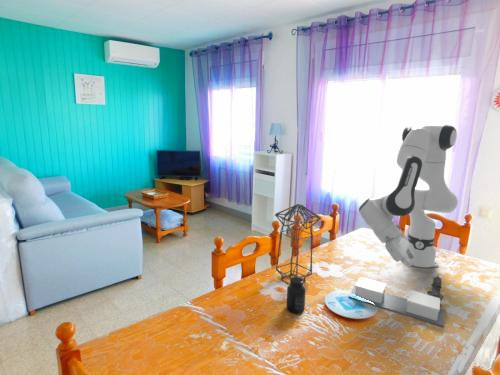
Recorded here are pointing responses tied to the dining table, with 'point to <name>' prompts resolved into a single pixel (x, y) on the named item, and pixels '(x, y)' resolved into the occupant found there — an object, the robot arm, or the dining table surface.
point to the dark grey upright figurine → (436, 288)
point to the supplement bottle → (296, 296)
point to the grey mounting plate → (401, 301)
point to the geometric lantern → (297, 236)
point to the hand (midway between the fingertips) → (411, 261)
